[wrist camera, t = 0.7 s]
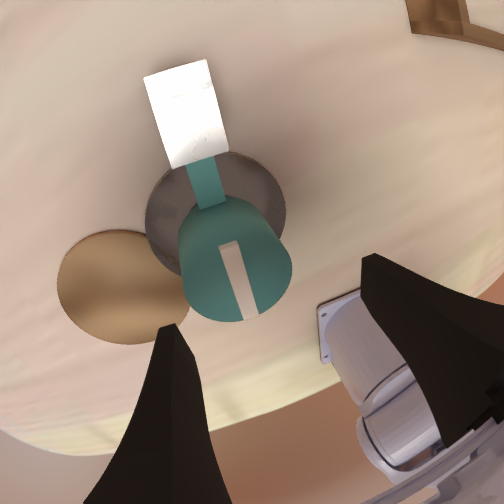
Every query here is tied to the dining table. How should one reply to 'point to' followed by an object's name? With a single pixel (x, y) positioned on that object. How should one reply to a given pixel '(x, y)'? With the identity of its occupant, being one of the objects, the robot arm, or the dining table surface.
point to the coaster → (120, 288)
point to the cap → (228, 252)
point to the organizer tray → (450, 22)
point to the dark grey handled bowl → (198, 158)
